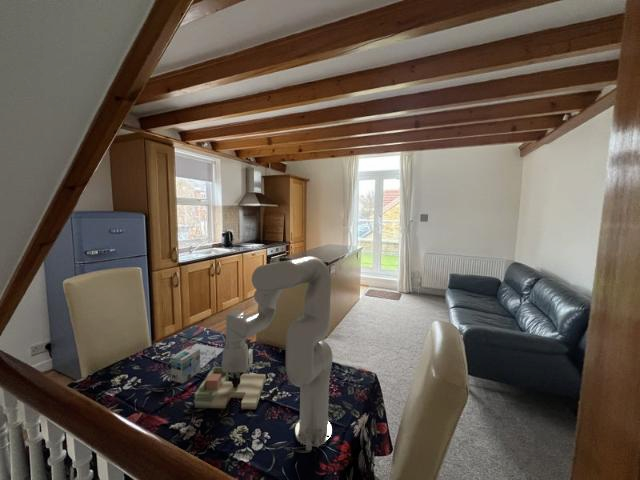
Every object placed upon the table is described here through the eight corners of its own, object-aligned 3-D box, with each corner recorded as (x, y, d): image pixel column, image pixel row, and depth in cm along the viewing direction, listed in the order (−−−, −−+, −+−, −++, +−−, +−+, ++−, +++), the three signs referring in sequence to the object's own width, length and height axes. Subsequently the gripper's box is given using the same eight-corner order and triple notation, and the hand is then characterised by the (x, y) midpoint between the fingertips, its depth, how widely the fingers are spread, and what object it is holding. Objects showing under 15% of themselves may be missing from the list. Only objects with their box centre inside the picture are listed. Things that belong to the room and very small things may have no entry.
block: (217, 390, 106) (217, 380, 106) (206, 389, 106) (206, 380, 106) (221, 383, 111) (221, 373, 110) (210, 382, 111) (210, 373, 110)
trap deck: (255, 409, 100) (255, 395, 99) (194, 407, 100) (194, 393, 99) (265, 379, 118) (265, 367, 117) (213, 378, 118) (213, 366, 117)
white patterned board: (167, 364, 128) (167, 360, 128) (196, 345, 148) (196, 341, 148) (201, 371, 124) (201, 366, 124) (226, 350, 143) (226, 346, 143)
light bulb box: (182, 384, 113) (182, 360, 112) (170, 380, 115) (169, 357, 114) (201, 370, 123) (200, 348, 122) (189, 367, 125) (189, 345, 124)
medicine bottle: (252, 362, 131) (252, 339, 130) (247, 371, 124) (247, 346, 123) (238, 361, 132) (238, 338, 130) (232, 369, 124) (232, 345, 123)
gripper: (213, 346, 103) (214, 391, 105) (252, 347, 103) (252, 391, 105) (220, 337, 110) (221, 379, 112) (256, 338, 111) (256, 380, 112)
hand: (236, 385), depth 108 cm, fingers closed
